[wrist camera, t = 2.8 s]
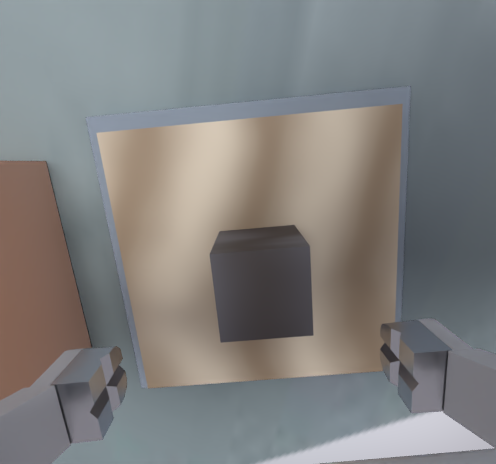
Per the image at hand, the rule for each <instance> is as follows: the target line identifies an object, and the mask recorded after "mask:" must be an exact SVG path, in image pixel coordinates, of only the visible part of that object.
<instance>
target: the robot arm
mask: <svg viewBox="0 0 496 464" xmlns="http://www.w3.org/2000/svg"><path fill="white" fill-rule="evenodd" d="M380 337H381V338H382V339H383V340H384V342H385V343H384V344H383V345H382V347H381V348H380V361H381V365H382V369H383V371H384V373H385V376H386V377H387V379H388V380H389V382H391V383H392V384H394V385H396V386H398V395H399V396H400V398H401V399H402V400H403V402H404V403H405V405H406V406H407V408H408V409H409V410H410V412H411V413H421V412H439V411H444V413H445V414H446V415H448V416H449V417H450V418H452V419H453V420H455V421H456V422H458V423H459V424H461V425H462V426H464V427H465V428H467V429H468V430H470V431H471V432H472V433H474V434H475V435H477V436H478V437H480V438H481V439H483V440H484V441H486V442H487V443H489V444H490V445H492V446H493V447H495V448H494V449H483V450H472V451H462V452H450V453H438V454H427V455H415V456H404V457H391V458H381V459H380V458H379V459H368V460H356V461H344V462H332V463H321V464H496V354H494V353H491V352H488V351H485V350H482V349H480V348H476V349H473V348H472V347H471V346H469V345H468V344H467V343H465V342H464V341H463V340H462V339H460V338H459V337H458V336H456V335H455V334H454V333H453V332H451V331H450V330H449V329H447V328H446V327H445V326H443V325H442V324H441V323H440V322H438V321H437V320H436V319H433V318H426V319H418V320H411V321H402V322H393V323H384V324H382V325H381V328H380ZM122 359H123V358H122V354H121V350H120V348H118V347H117V346H113V347H98V348H85V349H84V348H81V349H72V350H67V351H65V352H64V353H63V354H62V355H61V356H60V357H59V358H58V359H57V360H56V361H55V362H54V363H53V364H52V365H51V366H50V367H49V368H48V369H47V370H46V371H45V372H44V373H43V374H42V375H41V376H40V377H39V378H38V379H37V380H36V381H35V382H34V383H33V384H32V385H31V386H30V387H28V388H23V389H21V390H19V391H17V392H15V393H13V394H12V395H10V396H8V397H6V398H4V399H2V400H0V464H51V463H52V462H53V461H54V460H55V459H57V458H58V457H59V456H60V455H61V454H62V453H63V452H64V451H65V450H66V449H67V448H68V447H70V445H71V444H72V443H80V442H89V441H97V440H103V438H104V436H105V434H106V432H107V431H108V429H109V427H110V425H111V423H112V421H113V419H114V417H113V413H112V412H113V411H114V410H115V409H117V408H118V407H119V406H120V405H121V403H122V401H123V399H124V397H125V393H126V388H127V377H126V372H125V370H124V369H123V368H121V367H120V366H119V364H120V363H121V361H122Z"/></svg>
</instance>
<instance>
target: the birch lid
mask: <svg viewBox="0 0 496 464" xmlns="http://www.w3.org/2000/svg"><path fill="white" fill-rule="evenodd" d="M402 107H403V104H395V105H384V106H374V107H363V108H353V109H342V110H332V111H321V112H311V113H300V114H290V115H279V116H268V117H258V118H247V119H237V120H226V121H216V122H205V123H195V124H184V125H174V126H163V127H153V128H142V129H132V130H121V131H111V132H100V133H96V134H97V139H98V143H99V148H100V153H101V158H102V163H103V168H104V173H105V178H106V183H107V188H108V193H109V198H110V203H111V208H112V213H113V218H114V223H115V228H116V233H117V238H118V243H119V247H120V252H121V257H122V262H123V267H124V272H125V277H126V282H127V287H128V292H129V297H130V302H131V307H132V312H133V317H134V322H135V327H136V332H137V337H138V342H139V347H140V351H141V356H142V361H143V366H144V371H145V376H146V381H147V386H148V388H160V387H173V386H187V385H200V384H214V383H228V382H241V381H255V380H268V379H282V378H295V377H309V376H322V375H336V374H349V373H363V372H376V371H383V369H382V365H381V361H380V348H381V347H382V345H383V344H384V343H385V342H384V340H383V339H382V338H381V337H380V328H381V325H382V324H384V323H393V322H395V309H396V281H397V252H398V223H399V194H400V165H401V136H402Z"/></svg>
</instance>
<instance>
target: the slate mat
mask: <svg viewBox="0 0 496 464" xmlns="http://www.w3.org/2000/svg"><path fill="white" fill-rule="evenodd" d="M410 92H411V86H403V87H392V88H382V89H372V90H361V91H351V92H340V93H330V94H320V95H309V96H299V97H289V98H278V99H268V100H257V101H247V102H237V103H226V104H216V105H206V106H195V107H185V108H175V109H164V110H154V111H143V112H133V113H123V114H112V115H102V116H92V117H86V122H87V127H88V132H89V137H90V141H91V146H92V151H93V156H94V161H95V165H96V170H97V175H98V180H99V185H100V189H101V194H102V199H103V204H104V209H105V213H106V218H107V223H108V228H109V233H110V238H111V242H112V247H113V252H114V257H115V262H116V266H117V271H118V276H119V281H120V286H121V290H122V295H123V300H124V305H125V310H126V315H127V319H128V324H129V329H130V334H131V339H132V343H133V348H134V353H135V358H136V363H137V367H138V372H139V377H140V382H141V387H142V388H148V386H147V381H146V376H145V371H144V366H143V361H142V356H141V351H140V347H139V342H138V337H137V332H136V327H135V322H134V317H133V312H132V307H131V302H130V297H129V292H128V287H127V282H126V277H125V272H124V267H123V262H122V257H121V252H120V247H119V243H118V238H117V233H116V228H115V223H114V218H113V213H112V208H111V203H110V198H109V193H108V188H107V183H106V178H105V173H104V168H103V163H102V158H101V153H100V148H99V143H98V139H97V134H96V133H100V132H111V131H121V130H132V129H142V128H153V127H163V126H174V125H184V124H195V123H205V122H216V121H226V120H237V119H247V118H258V117H268V116H279V115H290V114H300V113H311V112H321V111H332V110H342V109H353V108H363V107H374V106H384V105H395V104H403V107H402V136H401V165H400V194H399V223H398V252H397V281H396V309H395V322H401V316H402V291H403V266H404V241H405V216H406V192H407V167H408V142H409V117H410Z"/></svg>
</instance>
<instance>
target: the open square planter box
mask: <svg viewBox="0 0 496 464" xmlns="http://www.w3.org/2000/svg"><path fill="white" fill-rule="evenodd" d="M81 348H84V349H85V348H92V346H91V342H90V338H89V334H88V330H87V326H86V322H85V318H84V314H83V310H82V306H81V302H80V298H79V294H78V290H77V286H76V282H75V277H74V273H73V269H72V265H71V261H70V257H69V253H68V249H67V245H66V241H65V237H64V233H63V229H62V225H61V221H60V217H59V213H58V208H57V204H56V200H55V196H54V192H53V188H52V184H51V180H50V176H49V172H48V168H47V164H46V161H0V400H2V399H4V398H6V397H8V396H10V395H12V394H13V393H15V392H17V391H19V390H21V389H23V388H28V387H30V386H31V385H32V384H33V383H34V382H35V381H36V380H37V379H38V378H39V377H40V376H41V375H42V374H43V373H44V372H45V371H46V370H47V369H48V368H49V367H50V366H51V365H52V364H53V363H54V362H55V361H56V360H57V359H58V358H59V357H60V356H61V355H62V354H63V353H64V352H65V351H67V350H72V349H81Z"/></svg>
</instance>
